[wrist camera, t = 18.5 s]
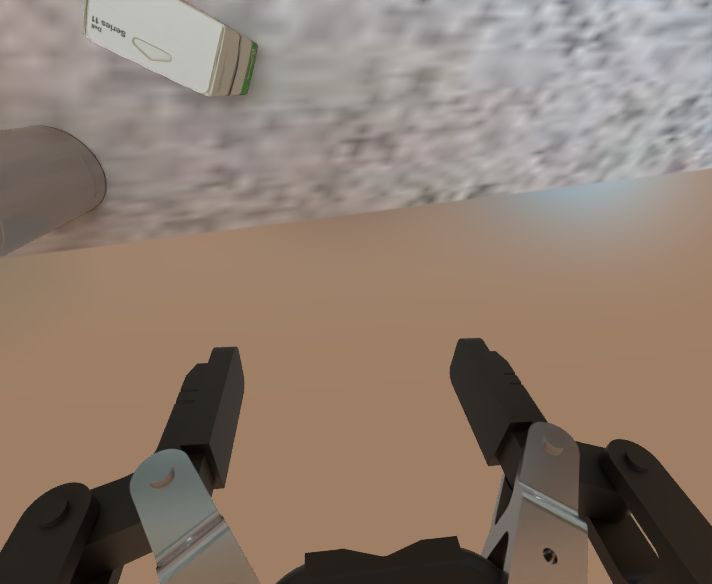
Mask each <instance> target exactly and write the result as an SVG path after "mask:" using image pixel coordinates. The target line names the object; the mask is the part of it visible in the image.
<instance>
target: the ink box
mask: <svg viewBox="0 0 712 584" xmlns="http://www.w3.org/2000/svg"><path fill="white" fill-rule="evenodd" d="M82 33H83V34H84V36H85V37H86V38H87V39H89V40H91V41H92V42H93V43H94V44H96V45H98V46H101V47H103V48H106V49H108V50H110V51H111V52H113V53H115V54H117V55H119V56H121V57H123V58H126V59H128V60H131V61H133V62H135V63H137V64H139V65H141V66H143V67H145V68H147V69H148V70H151V71H153V72H155V73H158V74H160V75H163V76H165V77H167V78H169V79H170V80H172V81H174V82H176V83H178V84H180V85H182V86H185V87H187V88H189V89H192V90H194V91H195V92H198V93H200V94H202V95H205V96H207V97H212V96H231V95H245V94H247V91H248V87H249V83H250V79H251V75H252V71H253V67H254V62H255V57H256V52H257V44H256V43H255V42H253V41H251V40H249V39H248V38H246V37H244V36H243V35H241V34H239V33H238V32H236V31H234V30H233V29H231V28H230V27H228V26H226V25H225V24H223V23H221V22H220V21H218V20H216V19H214V18H213V17H211V16H209V15H207V14H206V13H204V12H202V11H200V10H198V9H197V8H195V7H193V6H191V5H189V4H187V3H185V2H184V1H182V0H84V7H83V25H82Z"/></svg>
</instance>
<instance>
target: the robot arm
mask: <svg viewBox="0 0 712 584" xmlns="http://www.w3.org/2000/svg"><path fill="white" fill-rule="evenodd" d="M105 191H106V182H105V178H104V173H103V171H102V169H101V167H100V164H99V163H98V161H97V160H96V158H95V157H94V155H93V154H92V153H91V152H90V151H89V150H88V149H87V148H86V147H85V146H84V145H83V144H82V143H81V142H79V141H78V140H77V139H75V138H74V137H72V136H71V135H69V134H67V133H65V132H63V131H60V130H58V129H55V128H51V127H47V126H31V127H24V128H16V129H9V130H1V131H0V258H1V257H3V256H5V255H6V254H8V253H10V252H12V251H14V250H16V249H18V248H20V247H22V246H23V245H25V244H27V243H29V242H31V241H33V240H35V239H37V238H39V237H41V236H42V235H44V234H46V233H48V232H50V231H52V230H54V229H56V228H58V227H60V226H61V225H63V224H65V223H67V222H69V221H71V220H73V219H75V218H77V217H79V216H81V215H82V214H84V213H86V212H88V211H90V210H92V209H94V208H95V207H96V206H98V205H99V204H100V203H101V201H102V199H103V198H104V194H105ZM450 379H451V383H452V385H453V387H454V390H455V392H456V394H457V396H458V399H459V401H460V403H461V405H462V408H463V410H464V412H465V415H466V417H467V419H468V421H469V424H470V426H471V428H472V430H473V433H474V435H475V437H476V439H477V442H478V444H479V446H480V449H481V451H482V453H483V455H484V458H485V460H486V462H487V464H488V466H495V465H501V467H502V469H503V471H504V474H503V476H502V479H501V483H500V487H499V492H498V496H497V500H496V505H495V509H494V514H493V518H492V522H491V527H490V531H489V534H488V536H487V539H486V541H485V544H484V547H483V550H482V553H481V555H479V554H477V553H475V552H472V551H470V550H467V549H464V548H460V545H459V542H458V539H457V536H452V537H444V538H435V539H426V540H420V541H418V542H416V543H414V544H412V545H409V546H407V547H405V548H403V549H401V550H399V551H397V552H395V553H392V554H390V555H388V556H377V555H372V554H367V553H362V552H357V551H352V550H347V549H338V550H329V551H320V552H311V553H305V564H304V565H302V566H300V567H298V568H296V569H294V570H292V571H291V572H290V573H288V574H286V575H285V576H284V577H283V578H282V579H280V580H279V581H278V582H277V583H276V584H587V572H588V538H589V539H590V541H591V543H592V545H593V547H594V549H595V551H596V552H597V554H598V556H599V558H600V560H601V562H602V564H603V565H604V567H605V569H606V571H607V573H608V575H609V577H610V579H611V580H612V582H613V584H712V526H711V525H710V523H709V522H708V521H707V520H706V519H705V517H704V516H703V515H702V514H701V513H700V511H699V510H698V509H697V508H696V506H695V505H694V504H693V503H692V501H691V500H690V499H689V498H688V496H687V495H686V494H685V493H684V492H683V490H682V489H681V488H680V487H679V485H678V484H677V483H676V482H675V481H674V479H673V478H672V477H671V476H670V474H669V473H668V472H667V471H666V470H665V468H664V467H663V466H662V465H661V463H660V462H659V461H658V460H657V459H656V458H655V457H654V456H653V455H652V454H651V453H650V452H649V451H647V450H646V449H645V448H643V447H641V446H640V445H638V444H635V443H634V442H631V441H628V440H623V439H616V440H613V441H611V442H610V443H609V444H608V445H607V447H606V448H603V447H598V446H594V445H590V444H585V443H581V442H577V441H574V439H573V438H572V437H571V436H570V435H569V434H568V433H567V432H566V431H564V430H563V429H562V428H560V427H558V426H556V425H554V424H551V423H548V422H547V421H546V419H545V418H544V416H543V415H542V413H541V412H540V410H539V409H538V407H537V406H536V404H535V402H534V401H533V400H532V398H531V397H530V395H529V393H528V392H527V390H526V389H525V388H524V386H523V385H521V381H520V380H519V378H518V377H517V376H516V375H515V372H514V371H513V369H512V368H511V366H510V365H509V363H508V362H507V361H506V360H505V359H504V358H503V357H502V356H500V355H499V354H498V353H497V352H496V351H489V349H488V347H487V346H486V344H485V343H484V341H483V340H482V339H481V338H465V339H459V340H458V342H457V346H456V349H455V353H454V356H453V359H452V363H451V366H450ZM243 393H244V375H243V370H242V365H241V360H240V355H239V350H238V348H237V347H220V348H219V347H216V348H214V349H213V350H212V353H211V356H210V359H209V362H208V363H203V364H197V365H196V366H195V367H194V368H193V369H192V370H191V371H190V372H189V373H188V374H187V375H186V377H185V380H184V382H183V385H182V387H181V392H180V393H179V395H178V397H177V400H176V404H175V405H174V407H173V410H172V413H171V415H170V417H169V420H168V423H167V425H166V427H165V430H164V432H163V435H162V438H161V440H160V443H159V445H158V447H157V450H156V451H155V453H154V454H153V455H151V456H150V457H148V458H147V459H146V460H145V461H143V462H142V463H141V464H140V465H139V467H138V468H137V469H136V470H135V472H134V473H132V474H130V475H128V476H126V477H124V478H121V479H119V480H116V481H113V482H110V483H108V484H105V485H102V486H99V487H97V488H94V489H91V490H89V488H88V487H87V486H85V485H84V484H81V483H67V484H63V485H60V486H57V487H55V488H53V489H51V490H49V491H48V492H46V493H44V494H43V495H42V496H40V497H39V498H38V499H37V500H35V501H34V502H33V503H32V504H31V505H30V506H29V507H28V508H27V510H26V511H25V512H24V513H23V515H22V516H21V518H20V519H19V521H18V523H17V524H16V526H15V528H14V530H13V531H12V533H11V535H10V537H9V539H8V540H7V542H6V543H5V545H4V547H3V549H2V550H1V552H0V584H118V582H119V579H120V576H121V572H122V569H123V566H124V565H125V564H127V563H129V562H131V561H133V560H136V559H138V558H140V557H142V556H144V555H146V554H148V553H151V552H153V554H154V556H155V560H156V563H157V568H156V570H157V574H158V578H159V581H160V584H261V583H260V581H259V580H258V578H257V576H256V574H255V572H254V571H253V569H252V567H251V565H250V564H249V562H248V560H247V558H246V556H245V555H244V553H243V551H242V549H241V547H240V546H239V544H238V542H237V540H236V538H235V537H234V535H233V533H232V531H231V530H230V528H229V526H228V524H227V522H226V521H225V519H224V518H223V516H221V514H220V513H219V511H218V509H217V508H216V506H215V504H214V502H213V500H212V499H211V497H212V493H213V489H219V488H224V487H225V483H226V477H227V472H228V468H229V462H230V458H231V453H232V448H233V443H234V438H235V433H236V429H237V424H238V419H239V414H240V409H241V404H242V399H243ZM631 513H632V514H633V516H634V517H635V519H636V520H637V522H638V523H639V525H640V526H641V528H642V529H643V531H644V532H645V534H646V535H647V537H648V539H649V540H650V541H651V543H652V545H653V546H654V548H655V549H656V551H657V554H658V556H659V558H658V556H657V555H656V553H655V552H654V550H653V549H652V547H651V546H650V544H649V543H648V541H647V540H646V538H645V537H644V535H643V533H642V532H641V530H640V529H639V527H638V526H637V524H636V523H635V521H634V520H633V518H632V517H631V515H630V514H631Z"/></svg>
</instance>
